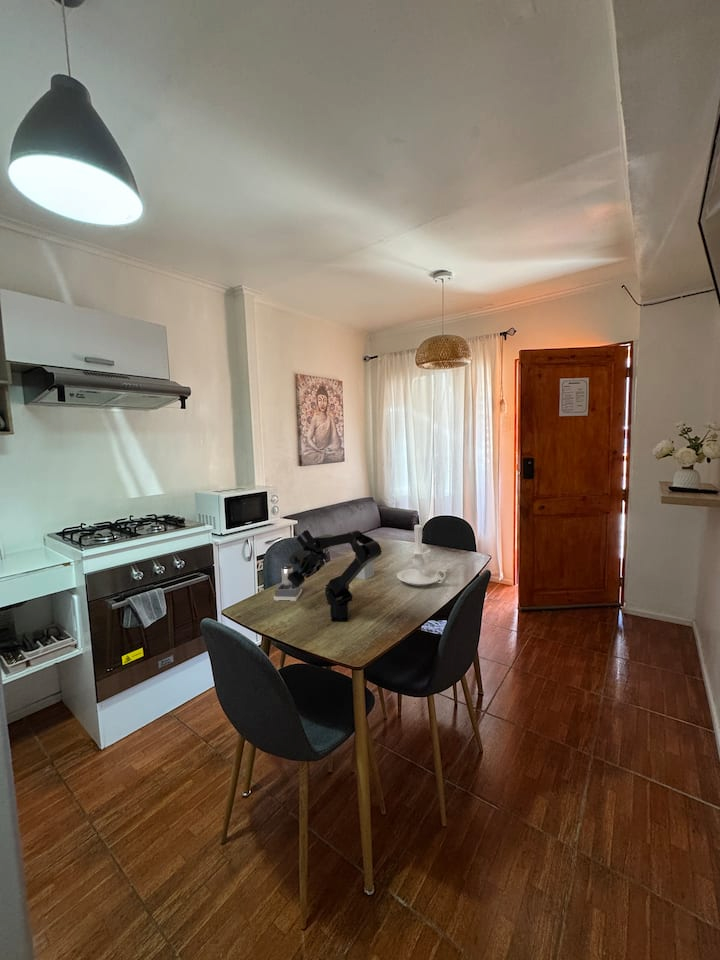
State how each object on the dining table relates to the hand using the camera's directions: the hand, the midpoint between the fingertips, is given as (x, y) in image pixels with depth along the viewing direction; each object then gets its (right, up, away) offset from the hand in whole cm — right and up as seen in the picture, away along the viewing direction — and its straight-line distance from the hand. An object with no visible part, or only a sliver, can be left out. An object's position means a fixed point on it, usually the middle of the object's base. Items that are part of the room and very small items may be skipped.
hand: (300, 582), depth 172 cm
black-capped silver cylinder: (-6, -6, +7) cm, 11 cm away
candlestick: (+55, -5, +18) cm, 58 cm away
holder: (-6, -8, +7) cm, 12 cm away
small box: (+28, -5, +28) cm, 40 cm away
